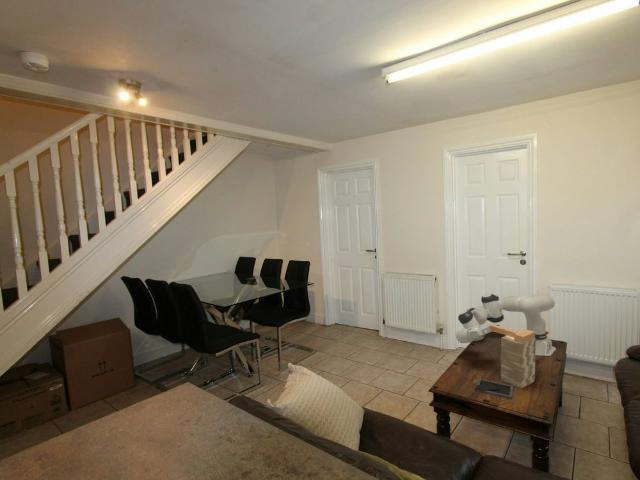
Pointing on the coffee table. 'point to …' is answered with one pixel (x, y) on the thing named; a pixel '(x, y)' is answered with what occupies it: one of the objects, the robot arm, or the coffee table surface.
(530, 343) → the pedestal
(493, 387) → the picture frame
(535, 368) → the mug
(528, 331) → the t bar
